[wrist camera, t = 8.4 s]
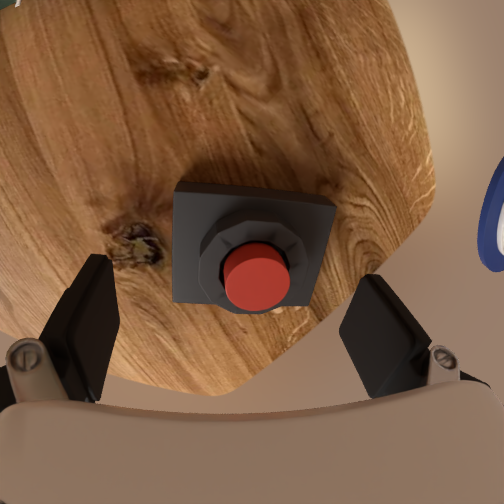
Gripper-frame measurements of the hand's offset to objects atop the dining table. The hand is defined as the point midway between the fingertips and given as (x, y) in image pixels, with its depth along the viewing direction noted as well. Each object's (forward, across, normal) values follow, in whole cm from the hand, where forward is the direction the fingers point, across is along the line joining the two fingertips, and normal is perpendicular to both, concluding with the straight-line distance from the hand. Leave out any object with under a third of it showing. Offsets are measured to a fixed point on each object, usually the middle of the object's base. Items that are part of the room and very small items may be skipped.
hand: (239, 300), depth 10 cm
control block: (+10, -2, +2) cm, 10 cm away
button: (+6, -2, +3) cm, 7 cm away
